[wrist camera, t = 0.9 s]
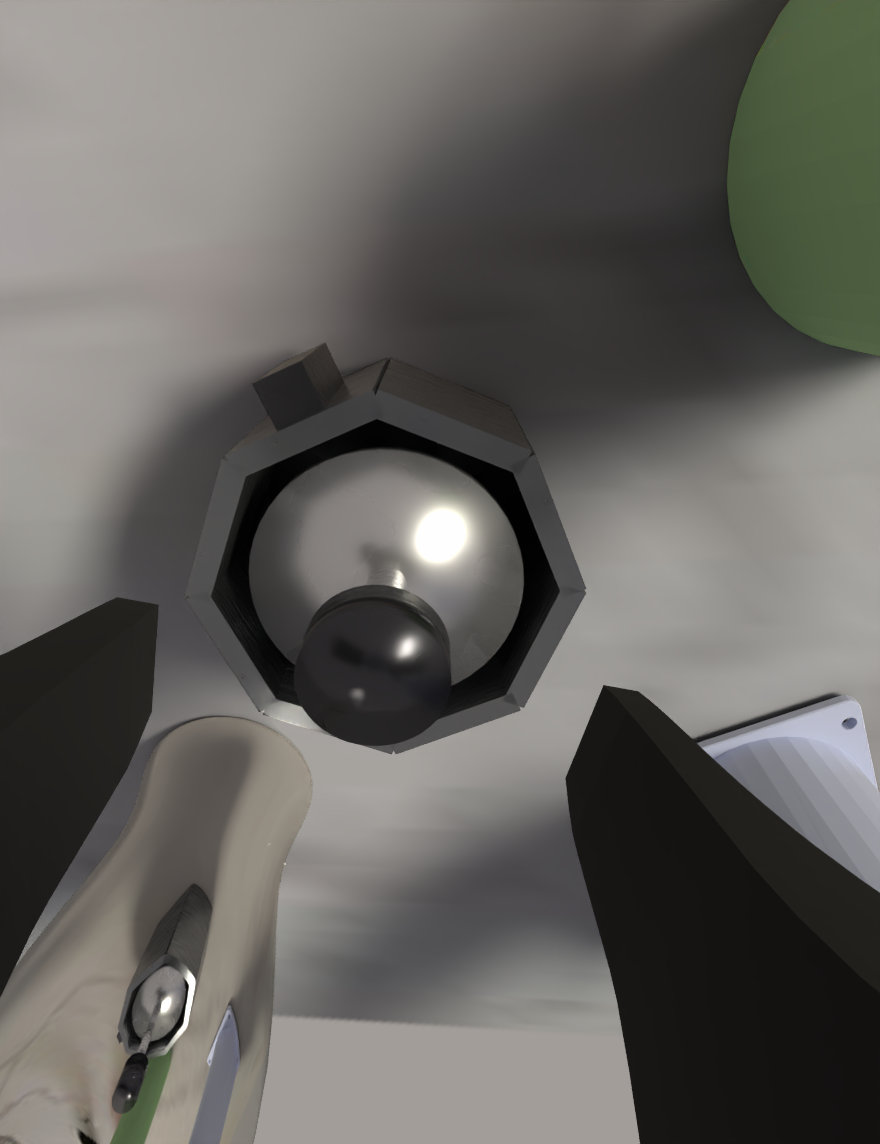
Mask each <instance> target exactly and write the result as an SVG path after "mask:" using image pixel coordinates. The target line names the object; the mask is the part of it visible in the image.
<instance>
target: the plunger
mask: <svg viewBox="0 0 880 1144" xmlns="http://www.w3.org/2000/svg"><path fill="white" fill-rule="evenodd" d="M249 582H250V590H251V595H252V599H253V604H254V606H255V609H256V612H257V615H258V617H259V620H260V622H261V623H262V625H263V627H264V629H265V631H266V633H267V634H268V636H269V637H270V639H271V640H272V641H273V643H274V644H275V646H276V647H277V648H278V649H279V650H280V651H281V652H282V653H283V654H284V656H285V657H286V658H287V659H288V660H290V661H291V662H292V663H293V664H294V665H295V669H294V686H295V691H296V694H297V697H298V700H299V702H300V704H301V706H302V708H303V709H304V711H305V712H306V714H307V715H308V716H309V717H310V718H311V719H312V721H313V722H314V723H315V724H317V725H318V726H319V727H320V728H321V729H323V730H324V731H326V732H327V733H329V734H331V735H333V736H335V737H337V738H339V739H341V740H344V741H347V742H350V743H354V744H359V745H366V746H384V745H391V744H397V743H400V742H403V741H406V740H409V739H411V738H414V737H415V736H417V735H419V734H421V733H422V732H424V731H425V730H426V729H428V728H429V727H430V726H431V725H432V724H433V723H434V722H435V721H436V720H437V719H438V718H439V717H440V715H441V714H442V712H443V711H444V709H445V707H446V705H447V702H448V700H449V696H450V692H451V686H452V685H454V684H457V683H458V682H460V681H462V680H463V679H465V678H467V677H469V676H470V675H472V674H473V673H474V672H475V671H477V670H478V669H479V668H481V667H482V666H483V665H484V664H485V663H486V662H487V661H488V660H489V659H490V658H491V657H492V656H493V655H494V654H495V653H496V652H497V651H498V649H499V648H500V647H501V645H502V644H503V643H504V641H505V640H506V638H507V636H508V635H509V633H510V631H511V630H512V627H513V625H514V623H515V620H516V618H517V615H518V612H519V608H520V605H521V601H522V594H523V586H524V573H523V562H522V557H521V551H520V547H519V544H518V541H517V538H516V535H515V532H514V529H513V527H512V525H511V523H510V521H509V519H508V517H507V515H506V513H505V511H504V510H503V508H502V507H501V506H500V504H499V503H498V501H497V500H496V498H495V497H494V496H493V495H492V494H491V493H490V492H489V491H488V490H487V489H486V487H485V486H484V485H482V484H481V483H480V482H479V481H478V480H477V479H475V478H474V477H473V476H472V475H471V474H469V473H468V472H466V471H464V470H463V469H461V468H460V467H458V466H457V465H455V464H453V463H451V462H449V461H447V460H444V459H442V458H440V457H438V456H435V455H432V454H429V453H426V452H422V451H419V450H414V449H408V448H403V447H388V446H377V447H365V448H359V449H354V450H349V451H344V452H341V453H339V454H336V455H333V456H330V457H327V458H325V459H323V460H321V461H319V462H317V463H316V464H314V465H312V466H310V467H308V468H307V469H306V470H304V471H303V472H301V473H300V474H299V475H297V476H296V477H295V478H294V479H293V480H291V481H290V482H289V483H288V484H287V485H286V486H285V487H284V488H283V489H282V490H281V492H280V493H279V494H278V495H277V497H276V498H275V499H274V500H273V502H272V503H271V505H270V506H269V508H268V509H267V511H266V513H265V515H264V516H263V518H262V520H261V522H260V524H259V526H258V529H257V531H256V534H255V536H254V539H253V544H252V548H251V552H250V561H249Z"/></svg>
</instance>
